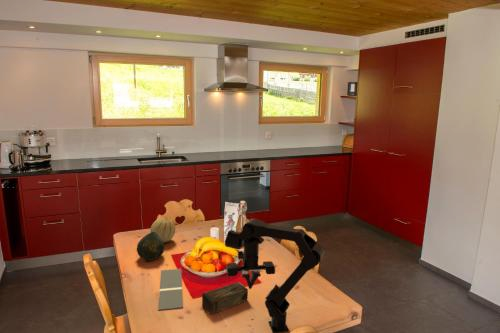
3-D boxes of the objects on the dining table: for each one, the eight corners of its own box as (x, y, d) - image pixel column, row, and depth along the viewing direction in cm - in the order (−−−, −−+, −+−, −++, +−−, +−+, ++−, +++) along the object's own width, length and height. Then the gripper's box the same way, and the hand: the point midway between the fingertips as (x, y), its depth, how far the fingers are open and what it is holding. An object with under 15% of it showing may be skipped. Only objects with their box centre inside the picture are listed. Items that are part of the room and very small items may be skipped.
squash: (130, 255, 177) (150, 233, 178) (132, 245, 192) (150, 224, 193) (152, 270, 182) (171, 248, 183) (152, 259, 196) (169, 239, 197)
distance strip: (182, 307, 143) (182, 306, 143) (158, 310, 141) (158, 309, 140) (181, 269, 175) (181, 268, 175) (161, 271, 173) (161, 270, 173)
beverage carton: (248, 301, 149) (248, 287, 148) (209, 316, 138) (209, 301, 137) (238, 293, 156) (238, 279, 154) (200, 306, 145) (200, 292, 144)
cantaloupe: (145, 244, 205) (145, 220, 202) (159, 235, 219) (158, 213, 216) (167, 248, 201) (167, 223, 198) (179, 238, 214) (179, 216, 212)
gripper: (270, 242, 141) (268, 277, 144) (225, 244, 138) (224, 279, 141) (276, 254, 131) (274, 291, 134) (228, 256, 128) (227, 294, 131)
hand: (249, 288), depth 135 cm, fingers closed
